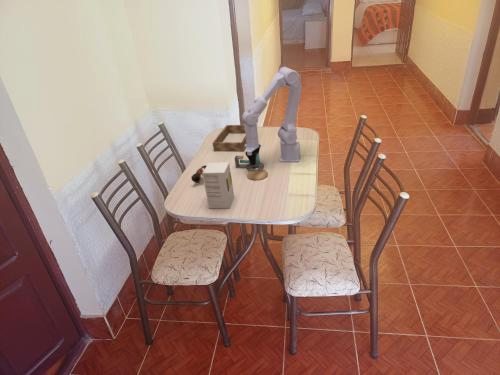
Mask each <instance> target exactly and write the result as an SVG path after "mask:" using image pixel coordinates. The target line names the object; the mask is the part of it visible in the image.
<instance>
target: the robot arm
mask: <svg viewBox="0 0 500 375" xmlns="http://www.w3.org/2000/svg"><path fill="white" fill-rule="evenodd" d="M283 87H287V88H288V89H289V91H288V96H287V97H288V98H287V103H286V108H285V113H284V118H283V122H282V123H281V124H280V127H279V128H278V131H277V136H278V138H280V141H279V143H280V145H279V146H280V158H279V160H278V161H279V162H283V163H284V162H286V163H287V162H288V163H289V162H291V163H298V162H299V161H300V157H301V147H300V146H301V145H300V143H301V142H300V141H297V139H298V135H297V131H298V130H297V126H296V120H297V113H298V109H299V104H300V100H301V94H302V90H303V89H302V88H303V84H302V81H301V75H300V74H299V72H298V71H297V70H294V69H291V68H289V67H288V66H281V67H279V69H278V71H277V72H276V73H274V76H273V79H272V80H271V82H269V84H268V86H267V87H266V89H265V91H263V93H262V95H261V96H257V97H256V98H254V100H253V103H252V104H251V105H250V106H249V107H248V108H247V110H245V111H244V112H243V113H242V117H241V119H242V121H243V123H244V124H243V125H245V133H244V135H245V136H246V143H247V144H245V145H244V146H245V147H246V151H245V153H244V154H245V157H247V160H249V161H250V164H251V165H255V164H256V155H257V153H258V154H259V155H260V149H261V147H262V145H261V144H260V143H259V134H258V125H257V123H258V122H259V118H260V116H261V115H262V113H263V112H264V110H265V109H266V107H267V106H268V101H269V100H270V99H271V97H272V96H274V94H275V93H276V91H277V90H279V88H283Z"/></svg>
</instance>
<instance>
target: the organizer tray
mask: <svg viewBox="0 0 500 375" xmlns="http://www.w3.org/2000/svg"><path fill="white" fill-rule="evenodd" d="M229 134H245V125H244V124H226V125H225V126H224V128H223V129H222V130H221V131H220V133H219V134H218V135H217V137H216V138H215V139H214V140H213V142H212V147H213V152H230V153H231V152H236V153H237V152H238V153H239V152H243V153H244V152H245V150H246V149H247V147H245V146H244V145H245V144H247V143H246V135H245V136H244V137H243V139H242V140H241V142H239V141H238V142H234V141H233V142H227V141H226V142H225V139H226V138H227V137H226V136H228V135H229Z"/></svg>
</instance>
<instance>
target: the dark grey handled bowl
mask: <svg viewBox="0 0 500 375" xmlns="http://www.w3.org/2000/svg"><path fill="white" fill-rule="evenodd" d="M244 158H245V157H244V155H235V157H234V164H235V165H234V166H235V169H246V171H248V172H249V171H251V170H258V169H263V170H264V168H265V164H264V163H263V162H261V161H260V163H259V164H257V165H251V164H249V163H240V160H244Z"/></svg>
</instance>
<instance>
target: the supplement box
mask: <svg viewBox="0 0 500 375" xmlns="http://www.w3.org/2000/svg"><path fill="white" fill-rule="evenodd" d="M202 175H203V176H202ZM202 175H201V176H202V180H203V184H204V189H205V194H206V199H207V205H208V209H231V206H232V204H233V201H234V199H235V194H234V185H233V181H232V180H233V179H232V173H231V165H230V162H228V161H227V162H225V161H224V162H222V161H221V162H207V164H206V168H205V169H203V173H202Z"/></svg>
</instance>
